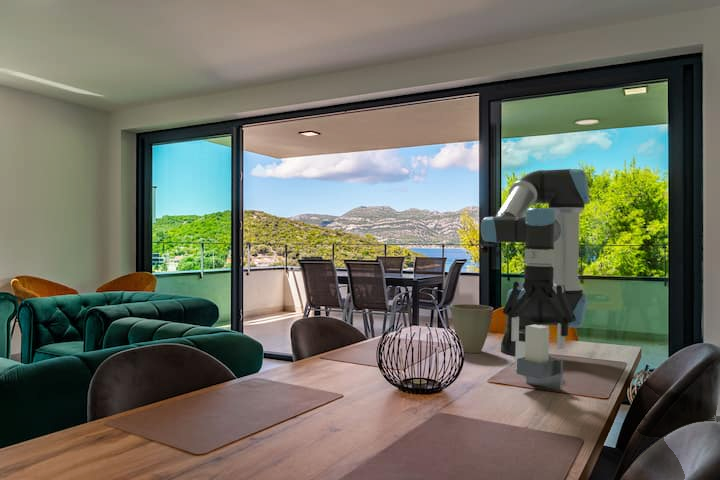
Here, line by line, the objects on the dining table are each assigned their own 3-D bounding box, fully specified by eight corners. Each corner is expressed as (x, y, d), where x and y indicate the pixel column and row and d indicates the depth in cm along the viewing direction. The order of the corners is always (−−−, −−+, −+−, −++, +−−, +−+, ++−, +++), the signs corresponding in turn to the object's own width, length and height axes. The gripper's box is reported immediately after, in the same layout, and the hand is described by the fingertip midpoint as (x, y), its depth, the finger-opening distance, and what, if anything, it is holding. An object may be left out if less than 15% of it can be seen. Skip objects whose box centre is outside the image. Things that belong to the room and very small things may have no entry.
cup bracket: (528, 382, 155) (529, 353, 155) (562, 389, 148) (563, 360, 148) (512, 387, 149) (512, 358, 149) (546, 395, 142) (547, 365, 142)
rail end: (532, 367, 151) (533, 324, 151) (548, 370, 148) (549, 326, 148) (524, 370, 148) (525, 326, 148) (540, 373, 145) (541, 328, 145)
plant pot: (447, 353, 191) (448, 307, 191) (452, 345, 205) (453, 303, 205) (491, 357, 187) (492, 310, 187) (493, 348, 201) (494, 305, 201)
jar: (549, 371, 168) (550, 332, 168) (534, 375, 163) (534, 335, 163) (524, 365, 175) (524, 328, 175) (508, 369, 170) (509, 330, 170)
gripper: (491, 263, 154) (489, 339, 154) (577, 268, 136) (575, 353, 136) (505, 262, 159) (504, 336, 159) (590, 267, 141) (588, 349, 142)
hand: (537, 344), depth 148 cm, fingers open, 13 cm apart
